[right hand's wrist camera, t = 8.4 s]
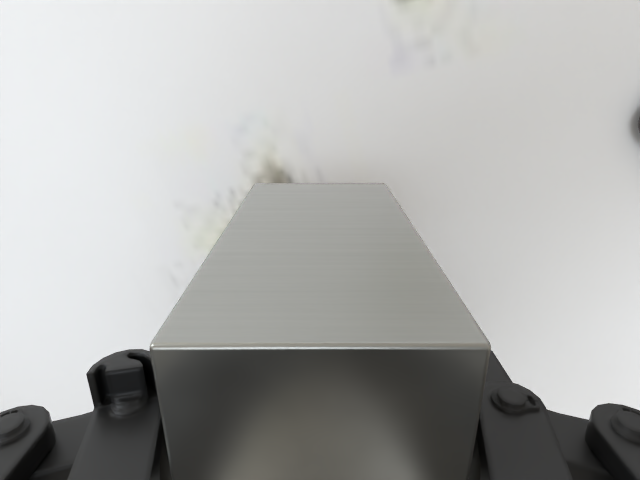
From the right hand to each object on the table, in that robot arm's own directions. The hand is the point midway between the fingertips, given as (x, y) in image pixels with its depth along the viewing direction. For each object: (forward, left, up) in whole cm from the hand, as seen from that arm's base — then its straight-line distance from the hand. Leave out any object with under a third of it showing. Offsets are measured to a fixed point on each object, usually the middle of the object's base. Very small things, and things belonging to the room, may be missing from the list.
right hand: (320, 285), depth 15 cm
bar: (-2, +9, -1) cm, 9 cm away
